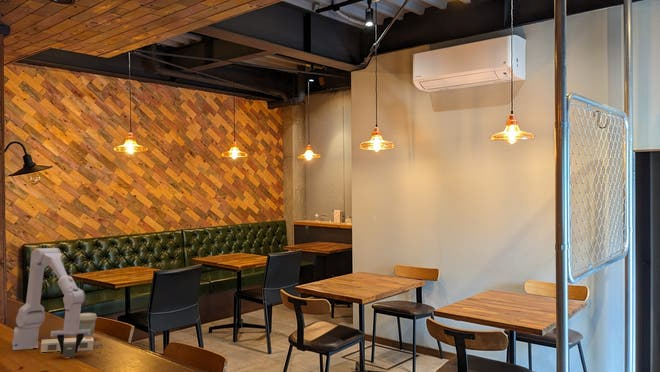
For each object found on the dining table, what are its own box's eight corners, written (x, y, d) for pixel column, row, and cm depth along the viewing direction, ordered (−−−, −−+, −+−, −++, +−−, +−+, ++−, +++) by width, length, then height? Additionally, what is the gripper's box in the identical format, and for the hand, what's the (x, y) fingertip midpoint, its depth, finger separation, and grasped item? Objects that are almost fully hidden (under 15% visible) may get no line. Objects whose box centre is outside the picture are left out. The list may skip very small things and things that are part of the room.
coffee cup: (86, 343, 227) (89, 316, 228) (70, 341, 228) (73, 314, 229) (98, 339, 235) (101, 313, 236) (83, 337, 237) (85, 311, 238)
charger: (62, 358, 201) (63, 346, 202) (62, 355, 206) (63, 343, 206) (74, 358, 204) (75, 345, 204) (73, 354, 208) (75, 342, 209)
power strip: (40, 353, 207) (41, 342, 207) (40, 349, 213) (41, 338, 213) (103, 349, 219) (104, 338, 219) (101, 345, 225) (102, 335, 225)
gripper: (52, 322, 198) (48, 357, 197) (92, 321, 205) (88, 354, 204) (52, 319, 204) (48, 352, 203) (90, 317, 212) (87, 349, 211)
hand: (68, 353), depth 204 cm, fingers closed on charger, 4 cm apart
